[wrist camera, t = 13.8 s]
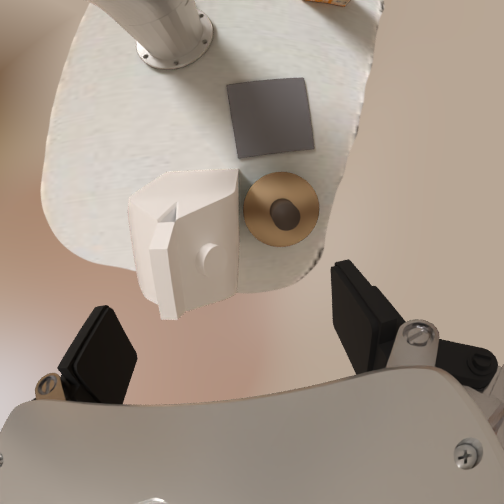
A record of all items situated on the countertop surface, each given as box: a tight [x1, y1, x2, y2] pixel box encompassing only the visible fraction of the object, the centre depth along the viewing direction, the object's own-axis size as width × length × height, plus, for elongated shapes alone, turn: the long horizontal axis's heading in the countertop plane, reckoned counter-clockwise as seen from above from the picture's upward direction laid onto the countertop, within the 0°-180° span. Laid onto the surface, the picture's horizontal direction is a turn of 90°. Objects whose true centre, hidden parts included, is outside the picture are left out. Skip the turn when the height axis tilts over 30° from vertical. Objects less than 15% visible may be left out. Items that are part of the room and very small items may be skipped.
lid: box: [243, 172, 319, 247], centre depth 37 cm, size 11×11×5 cm
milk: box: [128, 169, 240, 320], centre depth 31 cm, size 12×12×26 cm
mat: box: [227, 78, 314, 158], centre depth 38 cm, size 12×12×1 cm
